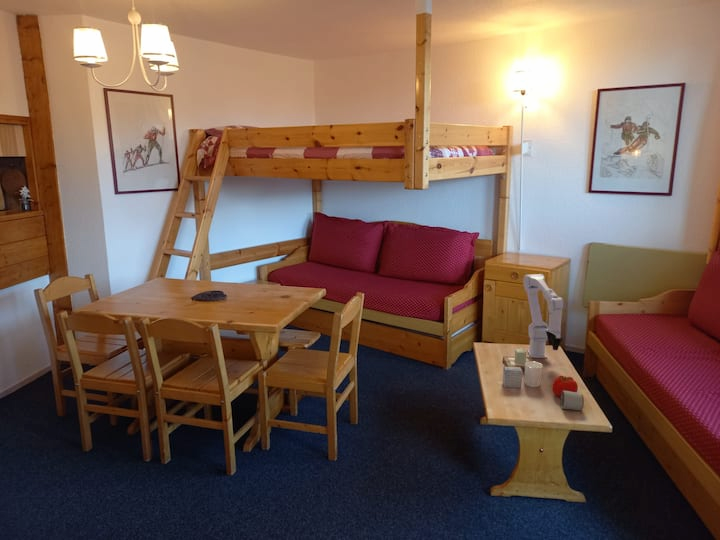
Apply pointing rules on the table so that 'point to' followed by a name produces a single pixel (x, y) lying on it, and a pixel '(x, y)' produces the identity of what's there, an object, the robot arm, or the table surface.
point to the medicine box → (512, 377)
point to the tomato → (564, 385)
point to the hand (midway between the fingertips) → (553, 347)
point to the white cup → (533, 373)
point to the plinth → (511, 362)
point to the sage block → (520, 356)
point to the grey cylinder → (572, 400)
